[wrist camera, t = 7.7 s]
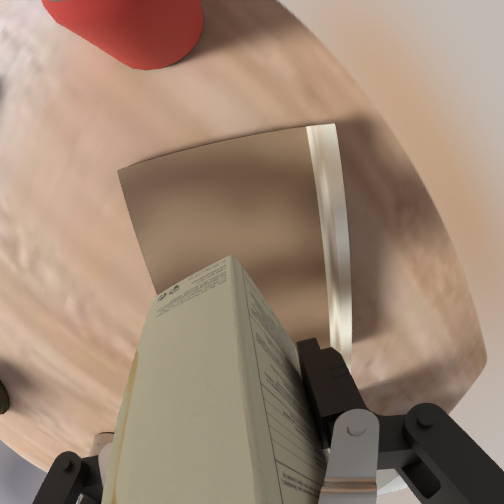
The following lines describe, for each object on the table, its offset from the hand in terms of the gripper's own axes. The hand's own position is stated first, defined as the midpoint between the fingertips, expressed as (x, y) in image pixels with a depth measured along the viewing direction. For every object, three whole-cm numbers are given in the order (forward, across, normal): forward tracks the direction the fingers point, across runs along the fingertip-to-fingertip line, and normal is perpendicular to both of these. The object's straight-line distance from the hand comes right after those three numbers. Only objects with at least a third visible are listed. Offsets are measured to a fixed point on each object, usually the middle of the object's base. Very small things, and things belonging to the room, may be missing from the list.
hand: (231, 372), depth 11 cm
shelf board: (+12, -1, +2) cm, 12 cm away
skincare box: (+3, 0, 0) cm, 3 cm away
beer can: (+12, +2, -17) cm, 21 cm away
